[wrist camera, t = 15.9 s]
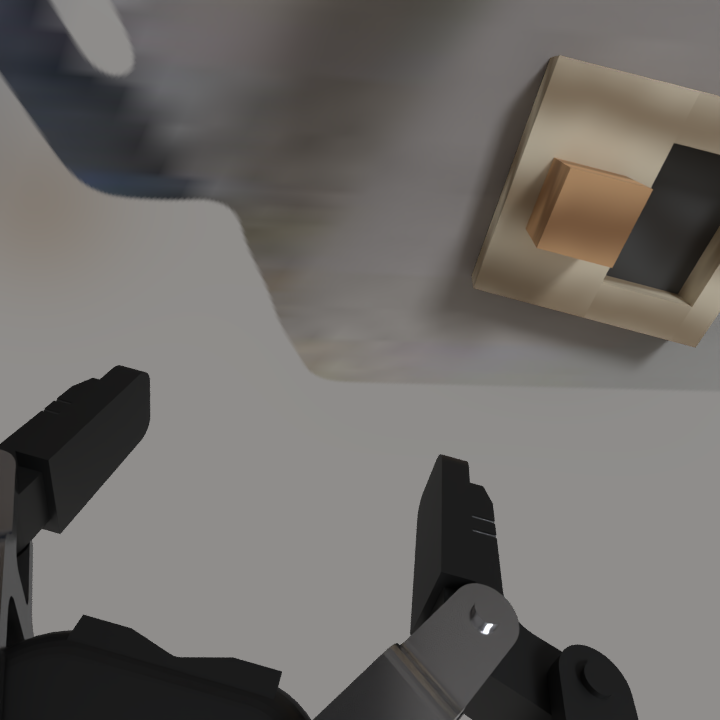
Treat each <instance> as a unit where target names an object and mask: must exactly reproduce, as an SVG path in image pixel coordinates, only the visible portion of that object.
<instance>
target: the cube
mask: <svg viewBox="0 0 720 720" xmlns="http://www.w3.org/2000/svg"><path fill="white" fill-rule="evenodd" d="M652 191H653V189H652V188H649V187H647V186H645V185H643V184H641V183H639V182H637V181H635V180H633V179H631V178H629V177H627V176H624V175H620V174H616V173H612V172H608V171H605V170H601V169H597V168H593V167H589V166H585V165H581V164H578V163H574V162H570V161H566V160H562V159H558V158H555V157H554V159H553V161H552V164H551V166H550V169H549V171H548V174H547V176H546V179H545V181H544V184H543V186H542V189H541V191H540V194H539V196H538V199H537V201H536V204H535V206H534V209H533V211H532V214H531V216H530V219H529V221H528V224H527V226H526V230H527V232H528V234H529V236H530V237H531V239H532V241H533V242H534V244H535V246H536V248H538V249H542V250H546V251H550V252H553V253H557V254H561V255H565V256H569V257H572V258H576V259H580V260H584V261H588V262H591V263H595V264H599V265H603V266H606V267H610V268H613V266H614V264H615V262H616V260H617V258H618V256H619V254H620V252H621V250H622V248H623V246H624V244H625V243H626V241H627V239H628V237H629V235H630V233H631V231H632V229H633V227H634V225H635V223H636V221H637V219H638V217H639V216H640V214H641V212H642V210H643V208H644V206H645V204H646V202H647V200H648V198H649V196H650V194H651V192H652Z"/></svg>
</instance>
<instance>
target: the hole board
mask: <svg viewBox="0 0 720 720" xmlns="http://www.w3.org/2000/svg"><path fill="white" fill-rule="evenodd" d="M554 157H555V158H558V159H562V160H566V161H570V162H574V163H578V164H581V165H585V166H589V167H593V168H597V169H601V170H605V171H608V172H612V173H616V174H620V175H624V176H627V177H629V178H631V179H633V180H635V181H637V182H639V183H641V184H643V185H645V186H647V187H649V188H652V189H653V191H652V192H651V194H650V196H649V198H648V200H647V202H646V204H645V206H644V208H643V210H642V212H641V214H640V216H639V217H638V219H637V221H636V223H635V225H634V227H633V229H632V231H631V233H630V235H629V237H628V239H627V241H626V243H625V244H624V246H623V248H622V250H621V252H620V254H619V256H618V258H617V260H616V262H615V264H614V266H613V268H610V267H606V266H603V265H599V264H595V263H591V262H588V261H584V260H580V259H576V258H572V257H569V256H565V255H561V254H557V253H553V252H550V251H546V250H542V249H538V248H536V246H535V244H534V242H533V241H532V239H531V237H530V236H529V234H528V232H527V230H526V226H527V224H528V221H529V219H530V216H531V214H532V211H533V209H534V206H535V204H536V201H537V199H538V196H539V194H540V191H541V189H542V186H543V184H544V181H545V179H546V176H547V174H548V171H549V169H550V166H551V164H552V161H553V159H554ZM472 281H473V288H474V289H478V290H482V291H485V292H489V293H493V294H497V295H500V296H504V297H508V298H512V299H515V300H519V301H523V302H527V303H530V304H534V305H538V306H542V307H545V308H549V309H553V310H557V311H560V312H564V313H568V314H572V315H575V316H579V317H583V318H587V319H590V320H594V321H598V322H602V323H605V324H609V325H613V326H617V327H620V328H624V329H628V330H632V331H635V332H639V333H643V334H647V335H651V336H654V337H658V338H662V339H666V340H669V341H673V342H677V343H681V344H684V345H688V346H692V347H696V346H697V345H698V343H699V342H700V340H701V339H702V337H703V336H704V334H705V333H706V331H707V330H708V328H709V327H710V325H711V324H712V322H713V321H714V319H715V318H716V316H717V315H718V313H719V312H720V96H717V95H713V94H709V93H705V92H701V91H697V90H694V89H690V88H686V87H682V86H678V85H674V84H670V83H666V82H662V81H658V80H654V79H650V78H646V77H642V76H639V75H635V74H631V73H627V72H623V71H619V70H615V69H611V68H607V67H603V66H599V65H595V64H591V63H587V62H584V61H580V60H576V59H572V58H568V57H564V56H560V55H559V56H555V57H552V58H550V60H549V63H548V66H547V68H546V71H545V74H544V77H543V79H542V82H541V85H540V88H539V91H538V93H537V96H536V99H535V102H534V104H533V107H532V110H531V113H530V115H529V118H528V121H527V124H526V127H525V129H524V132H523V135H522V138H521V140H520V143H519V146H518V149H517V151H516V154H515V157H514V160H513V163H512V165H511V168H510V171H509V174H508V176H507V179H506V182H505V185H504V187H503V190H502V193H501V196H500V199H499V201H498V204H497V207H496V210H495V212H494V215H493V218H492V221H491V223H490V226H489V229H488V232H487V235H486V237H485V240H484V243H483V246H482V248H481V251H480V254H479V257H478V259H477V262H476V265H475V268H474V271H473V273H472Z"/></svg>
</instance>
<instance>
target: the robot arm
mask: <svg viewBox="0 0 720 720" xmlns="http://www.w3.org/2000/svg"><path fill="white" fill-rule="evenodd" d="M149 421H150V378H149V375H148V373H146V372H142V371H138V370H135V369H131V368H127V367H124V366H120V365H118V366H115V367H114V368H113V369H111V370H110V371H109V372H108V373H107V374H106V375H105V376H103V377H102V378H101V379H100V380H99V379H95V378H91V379H89V380H87V381H84V382H82V383H79V384H77V385H74V386H72V387H71V388H69V389H68V390H67V391H66V392H65V393H63V394H62V395H61V396H59V397H58V398H57V401H53V402H52V403H51V404H50V405H48V406H47V407H46V408H45V410H44V411H41V412H39V413H38V414H37V415H36V416H34V417H33V418H32V419H31V420H29V421H28V422H27V423H26V424H24V425H23V426H22V427H21V428H19V429H18V430H17V431H16V432H14V433H13V434H12V435H11V436H9V437H8V438H7V439H6V440H5V441H3V442H2V443H1V444H0V720H311V719H310V717H309V716H308V714H307V713H306V712H305V711H304V710H303V708H302V707H301V706H300V705H299V704H298V702H296V701H295V700H294V699H293V698H292V697H291V696H290V695H288V694H287V693H286V692H284V691H283V690H281V689H280V688H278V685H279V681H280V677H281V673H282V672H281V671H278V670H275V669H271V668H268V667H264V666H261V665H257V664H254V663H250V662H247V661H243V660H239V659H236V658H206V657H204V658H203V657H201V658H200V657H198V658H195V657H191V658H189V657H183V658H182V657H176V656H173V655H171V654H169V653H168V652H166V651H165V650H163V649H162V648H160V647H159V646H157V645H156V644H154V643H153V642H151V641H150V640H148V639H147V638H145V637H144V636H142V635H140V634H139V633H138V632H136V631H135V630H133V629H132V628H128V627H124V626H121V625H118V624H114V623H111V622H107V621H104V620H100V619H96V618H93V617H90V616H86V615H83V616H82V618H81V619H80V620H79V622H78V623H77V625H76V626H75V628H74V629H73V630H72V631H60V632H52V633H48V634H43V635H39V636H35V637H34V634H33V625H32V572H33V569H32V568H33V543H32V539H33V538H34V537H35V536H36V534H37V533H38V532H39V531H40V530H41V529H45V530H48V531H52V532H55V533H59V534H60V533H62V531H63V530H64V529H65V528H66V527H67V526H68V524H69V523H70V522H71V521H72V520H73V519H74V517H75V516H76V515H77V514H78V513H79V512H80V510H81V509H82V508H83V507H84V506H85V505H86V504H87V502H88V501H89V500H90V499H91V498H92V497H93V495H94V494H95V493H96V492H97V491H98V490H99V488H100V487H101V486H102V485H103V483H105V481H106V480H107V479H108V478H109V477H110V476H111V475H112V473H113V472H114V471H115V470H116V469H117V468H118V466H119V465H120V464H121V463H122V462H123V461H124V459H125V458H126V457H127V456H128V455H129V454H130V452H131V451H132V450H133V449H134V448H135V447H136V445H137V444H138V443H139V442H140V441H141V440H142V438H143V437H144V435H145V433H146V431H147V429H148V426H149ZM494 521H495V520H494V511H493V503H492V501H491V500H490V498H489V496H488V494H487V493H486V491H485V489H484V487H483V486H480V485H476V484H473V483H470V479H469V465H468V462H467V461H463V460H460V459H456V458H452V457H449V456H445V455H441V454H440V455H439V456H438V458H437V460H436V462H435V465H434V468H433V470H432V472H431V475H430V477H429V480H428V482H427V485H426V487H425V490H424V492H423V495H422V498H421V501H420V505H419V510H418V518H417V533H416V550H415V565H414V581H413V597H412V614H411V630H410V634H411V636H410V637H409V638H408V639H407V640H406V641H405V642H404V643H402V644H401V645H399V644H398V643H396V644H394V645H392V646H391V647H390V648H388V649H387V650H386V651H385V652H384V653H383V654H382V655H381V656H380V657H378V658H377V659H376V660H375V661H374V662H373V663H372V664H371V665H370V666H369V667H368V668H367V669H366V670H365V671H364V672H363V673H362V674H361V675H360V676H359V677H357V678H356V679H355V680H354V681H353V682H352V683H351V684H350V685H349V686H348V687H347V688H346V689H345V690H344V691H343V692H342V693H341V694H340V695H339V696H338V697H337V698H336V699H334V700H333V701H332V702H331V703H330V704H329V705H328V706H327V707H326V708H325V709H324V710H323V711H322V712H321V713H320V714H319V715H318V716H317V717H315V718H314V719H313V720H460V719H461V717H462V716H463V715H464V714H465V715H467V716H468V717H469V718H471V719H472V720H638V716H637V713H636V708H635V705H634V701H633V697H632V694H631V691H630V688H629V686H628V683H627V681H626V680H625V678H624V676H623V675H622V673H621V672H620V671H619V669H618V668H617V667H616V666H615V665H614V664H613V663H612V662H611V661H610V660H609V659H608V658H607V657H606V656H604V655H603V654H602V653H600V652H598V651H597V650H595V649H593V648H590V647H588V646H584V645H571V646H569V647H567V648H566V649H564V650H563V652H561V651H560V650H558V649H556V648H555V647H553V646H551V645H550V644H548V643H547V642H545V641H543V640H542V639H540V638H539V637H537V636H535V635H534V634H532V633H531V632H529V631H528V630H527V629H526V628H524V627H523V626H522V625H521V624H520V623H519V622H518V618H517V615H516V613H515V611H514V609H513V607H512V606H511V605H510V603H509V602H508V600H507V599H505V597H504V595H503V589H502V580H501V571H500V564H499V554H498V545H497V539H496V528H495V524H494Z"/></svg>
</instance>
